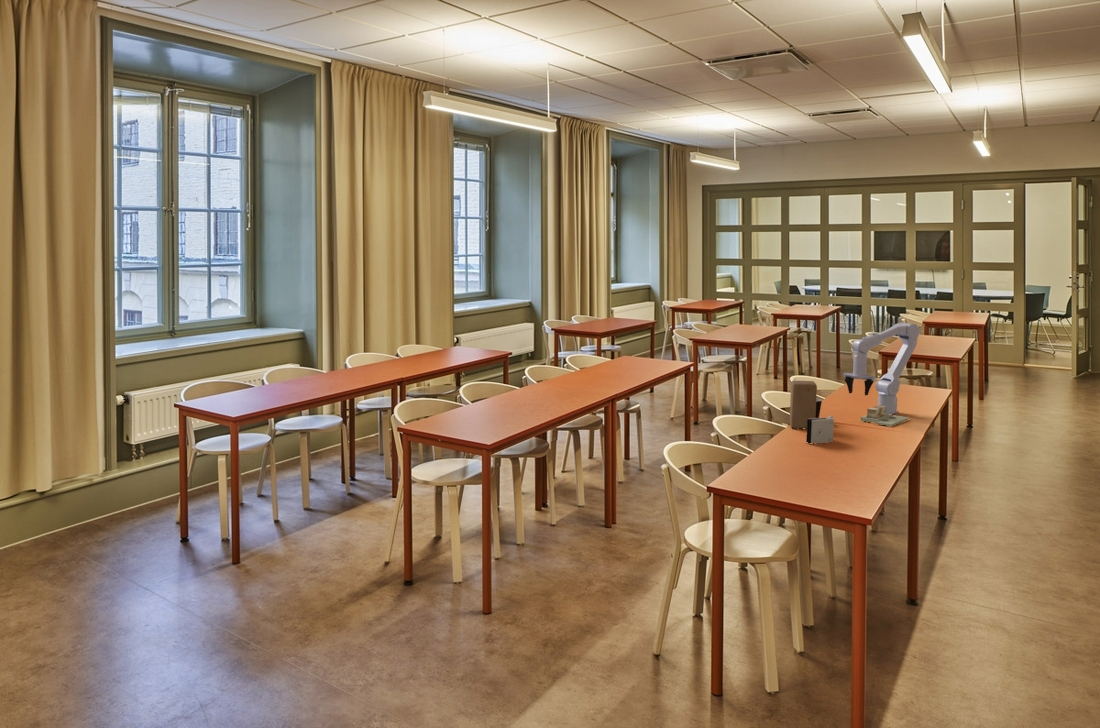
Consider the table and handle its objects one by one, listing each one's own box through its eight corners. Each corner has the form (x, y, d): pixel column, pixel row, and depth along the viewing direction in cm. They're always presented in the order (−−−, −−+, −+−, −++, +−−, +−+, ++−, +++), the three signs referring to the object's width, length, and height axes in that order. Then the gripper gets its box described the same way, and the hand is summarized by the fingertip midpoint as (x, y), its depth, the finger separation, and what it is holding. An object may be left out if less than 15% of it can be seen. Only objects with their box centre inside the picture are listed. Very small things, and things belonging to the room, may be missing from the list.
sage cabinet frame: (877, 415, 384) (877, 411, 383) (909, 420, 373) (909, 415, 373) (858, 422, 370) (859, 417, 369) (890, 427, 359) (891, 422, 359)
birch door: (877, 417, 379) (878, 405, 378) (885, 419, 377) (886, 406, 376) (866, 421, 371) (867, 408, 370) (874, 423, 368) (875, 410, 367)
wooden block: (815, 430, 354) (817, 384, 351) (791, 429, 356) (793, 383, 353) (812, 425, 364) (814, 380, 361) (789, 424, 366) (791, 380, 363)
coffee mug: (823, 423, 367) (824, 401, 366) (804, 423, 368) (805, 401, 366) (815, 417, 379) (816, 396, 378) (796, 417, 379) (797, 396, 378)
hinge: (830, 439, 337) (831, 415, 336) (840, 442, 333) (841, 418, 331) (804, 443, 331) (805, 418, 330) (813, 446, 327) (815, 421, 325)
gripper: (841, 364, 384) (839, 393, 386) (871, 367, 374) (869, 397, 376) (847, 363, 389) (846, 391, 391) (878, 366, 379) (876, 395, 381)
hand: (858, 394), depth 384 cm, fingers open, 7 cm apart
